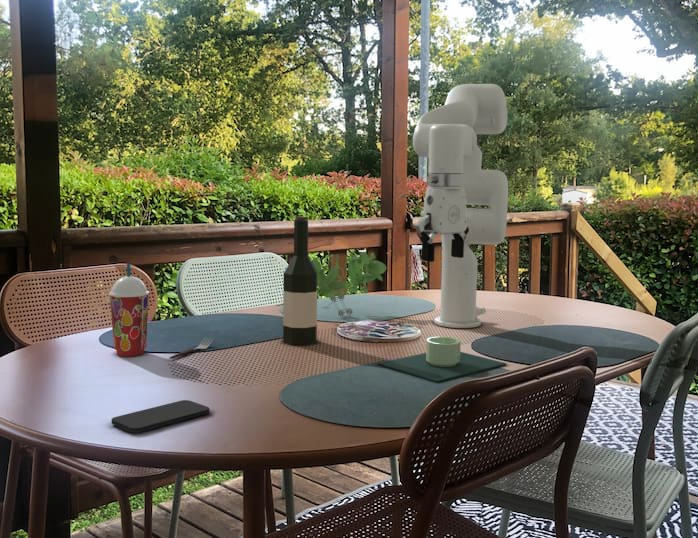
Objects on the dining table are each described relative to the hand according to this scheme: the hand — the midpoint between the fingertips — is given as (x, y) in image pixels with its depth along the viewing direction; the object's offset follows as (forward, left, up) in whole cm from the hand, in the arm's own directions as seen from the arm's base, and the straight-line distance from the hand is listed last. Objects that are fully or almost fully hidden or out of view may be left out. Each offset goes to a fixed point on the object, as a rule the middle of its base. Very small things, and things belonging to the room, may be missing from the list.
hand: (442, 259), depth 167 cm
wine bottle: (+17, -30, -22) cm, 41 cm away
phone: (+69, +1, -22) cm, 72 cm away
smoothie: (+54, -43, -22) cm, 72 cm away
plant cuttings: (-10, -51, -22) cm, 56 cm away
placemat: (+6, +6, -22) cm, 24 cm away
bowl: (+6, +6, -22) cm, 23 cm away
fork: (+43, -36, -22) cm, 60 cm away
